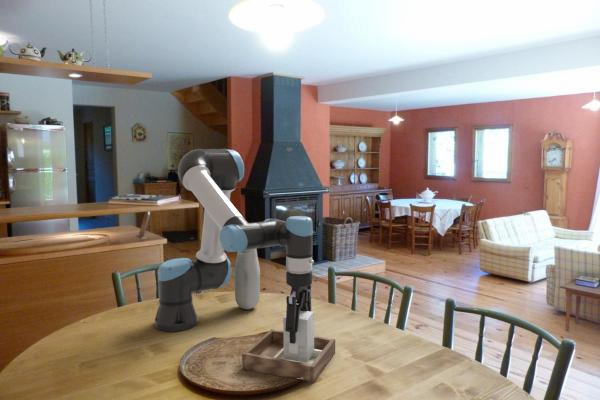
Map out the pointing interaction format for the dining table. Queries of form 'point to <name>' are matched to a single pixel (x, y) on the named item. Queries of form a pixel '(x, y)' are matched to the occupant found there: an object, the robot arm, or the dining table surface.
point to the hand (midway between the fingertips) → (299, 347)
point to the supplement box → (301, 337)
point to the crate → (271, 359)
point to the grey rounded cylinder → (247, 279)
